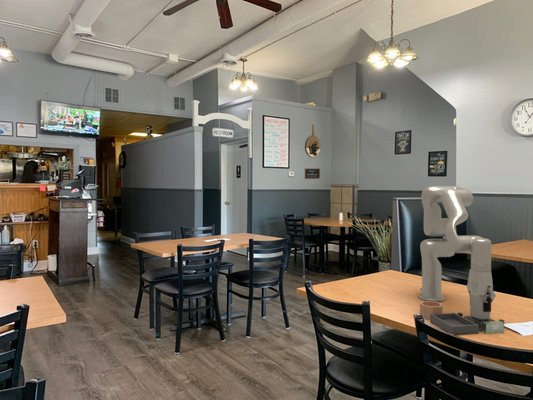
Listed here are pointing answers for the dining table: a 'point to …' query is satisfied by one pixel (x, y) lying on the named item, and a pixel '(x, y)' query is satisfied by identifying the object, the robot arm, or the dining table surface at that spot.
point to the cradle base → (490, 326)
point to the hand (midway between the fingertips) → (480, 308)
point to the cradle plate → (477, 320)
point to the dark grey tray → (454, 323)
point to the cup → (430, 308)
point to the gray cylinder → (478, 307)
